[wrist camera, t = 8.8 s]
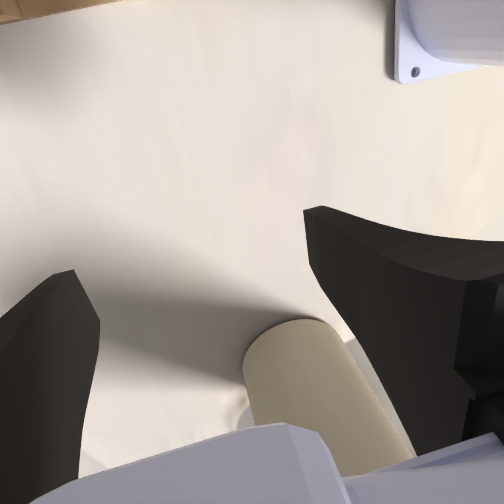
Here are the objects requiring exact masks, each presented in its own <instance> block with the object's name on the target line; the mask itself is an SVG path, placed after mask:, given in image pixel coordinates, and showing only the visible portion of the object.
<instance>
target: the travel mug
mask: <svg viewBox="0 0 504 504" xmlns="http://www.w3.org/2000/svg"><path fill="white" fill-rule="evenodd" d="M242 372H243V377H244V381H245V385H246V389H247V394H248V398H249V402H250V406H251V410H252V414H253V418H254V422H255V426H258V425H266V424H273V423H281V422H283V423H287V424H290V425H294V426H297V427H301V428H305V429H308V430H312V431H315V432H318V433H319V435H320V436H321V438H322V439H323V441H324V443H325V444H326V446H327V447H328V449H329V450H330V452H331V454H332V457H333V459H334V462H335V464H336V467H337V469H338V471H339V474H340V476H341V477H349V476H357V475H363V474H366V473H369V472H372V471H375V470H378V469H381V468H384V467H388V466H391V465H394V464H397V463H400V462H403V461H406V460H409V459H412V458H413V457H412V455H411V454H410V452H409V450H408V449H407V447H406V446H405V444H404V442H403V440H402V439H401V437H400V435H399V434H398V432H397V431H396V429H395V427H394V426H393V424H392V422H391V421H390V419H389V417H388V416H387V414H386V412H385V411H384V409H383V407H382V406H381V404H380V402H379V401H378V399H377V397H376V396H375V394H374V392H373V391H372V389H371V387H370V386H369V384H368V382H367V381H366V379H365V377H364V376H363V374H362V373H361V371H360V369H359V368H358V366H357V364H356V363H355V361H354V359H353V358H352V356H351V354H350V353H349V351H348V349H347V348H346V346H345V344H344V343H343V341H342V339H341V338H340V336H339V334H338V333H337V332H336V330H335V329H333V328H332V327H331V326H330V325H328V324H326V323H324V322H321V321H317V320H311V319H299V320H292V321H288V322H285V323H282V324H279V325H277V326H275V327H273V328H271V329H269V330H267V331H266V332H264V333H263V334H262V335H260V336H259V337H258V338H257V339H256V340H255V341H254V342H253V343H252V344H251V346H250V347H249V348H248V350H247V352H246V354H245V356H244V359H243V363H242Z"/></svg>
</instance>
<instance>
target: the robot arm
mask: <svg viewBox="0 0 504 504" xmlns="http://www.w3.org/2000/svg"><path fill="white" fill-rule="evenodd" d="M482 66H498V67H504V0H396V5H395V62H394V77H395V81H396V82H397V83H399V84H410V83H414V82H418V81H423V80H427V79H431V78H435V77H439V76H444V75H448V74H452V73H456V72H461V71H465V70H469V69H473V68H477V67H482ZM414 67H415V69H416V72H415V74H414V76H411V71H412V69H413V68H414ZM303 214H304V222H305V231H306V240H307V248H308V257H309V264H310V266H311V269H312V271H313V273H314V275H315V277H316V279H317V281H318V283H319V285H320V287H321V288H322V290H323V291H324V293H325V294H326V296H327V297H328V298H329V300H330V301H331V303H332V304H333V306H334V307H335V308H336V310H337V311H338V313H339V314H340V316H341V317H342V318H343V320H344V321H345V323H346V324H347V325H348V327H349V328H350V330H351V331H352V333H353V334H354V335H355V337H356V338H357V340H358V342H359V343H360V345H361V346H362V348H363V350H364V351H365V353H366V355H367V357H368V359H369V360H370V362H371V364H372V366H373V368H374V370H375V372H376V374H377V375H378V377H379V379H380V381H381V383H382V385H383V387H384V389H385V391H386V393H387V394H388V397H389V399H390V400H391V402H392V404H393V406H394V408H395V410H396V413H397V415H398V417H399V419H400V420H401V423H402V425H403V427H404V429H405V431H406V433H407V435H408V437H409V439H410V441H411V443H412V446H413V448H414V450H415V452H416V454H417V456H418V457H415V458H412V459H409V460H406V461H403V462H400V463H397V464H394V465H391V466H388V467H384V468H381V469H378V470H375V471H372V472H369V473H366V474H363V475H357V476H349V477H341V476H340V474H339V471H338V469H337V467H336V464H335V462H334V459H333V457H332V454H331V452H330V450H329V449H328V447H327V446H326V444H325V443H324V441H323V439H322V438H321V436H320V435H319V433H318V432H315V431H312V430H308V429H305V428H301V427H297V426H294V425H290V424H287V423H283V422H281V423H273V424H266V425H258V426H252V427H245V428H242V429H239V430H236V431H232V432H229V433H226V434H223V435H219V436H216V437H213V438H210V439H206V440H203V441H200V442H197V443H193V444H190V445H187V446H184V447H180V448H177V449H174V450H171V451H167V452H164V453H161V454H158V455H154V456H151V457H148V458H145V459H141V460H138V461H135V462H132V463H128V464H125V465H122V466H119V467H115V468H112V469H109V470H106V471H102V472H99V473H96V474H93V475H90V476H86V477H83V478H80V479H78V472H79V459H80V449H81V439H82V429H83V423H84V417H85V412H86V408H87V403H88V398H89V394H90V389H91V384H92V380H93V375H94V371H95V366H96V361H97V356H98V350H99V338H100V320H99V318H98V316H97V314H96V312H95V310H94V308H93V306H92V304H91V302H90V300H89V298H88V296H87V295H86V293H85V291H84V289H83V287H82V285H81V283H80V281H79V279H78V277H77V275H76V273H75V271H74V269H73V270H69V271H65V272H61V273H58V274H54V275H52V276H50V277H49V278H47V279H46V280H44V281H43V282H42V283H41V284H39V285H38V286H37V287H36V288H35V289H33V290H32V291H31V292H30V293H29V294H28V295H26V296H25V297H24V298H23V299H22V300H21V301H19V302H18V303H17V304H16V305H15V306H14V307H13V308H11V309H10V310H9V311H8V312H7V313H6V314H5V315H3V316H2V317H1V318H0V504H504V241H482V240H468V239H458V238H448V237H440V236H433V235H427V234H422V233H416V232H411V231H406V230H402V229H398V228H394V227H390V226H386V225H382V224H379V223H376V222H372V221H369V220H366V219H363V218H360V217H357V216H354V215H351V214H348V213H345V212H342V211H339V210H336V209H333V208H330V207H326V206H318V207H314V208H310V209H306V210H303Z"/></svg>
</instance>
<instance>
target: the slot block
mask: <svg viewBox="0 0 504 504" xmlns="http://www.w3.org/2000/svg"><path fill="white" fill-rule="evenodd" d="M116 1H121V0H0V25H1V24H6V23H11V22H16V21H21V20H26V19H31V18H36V17H41V16H46V15H51V14H56V13H61V12H66V11H71V10H76V9H81V8H86V7H91V6H96V5H101V4H106V3H111V2H116Z"/></svg>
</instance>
